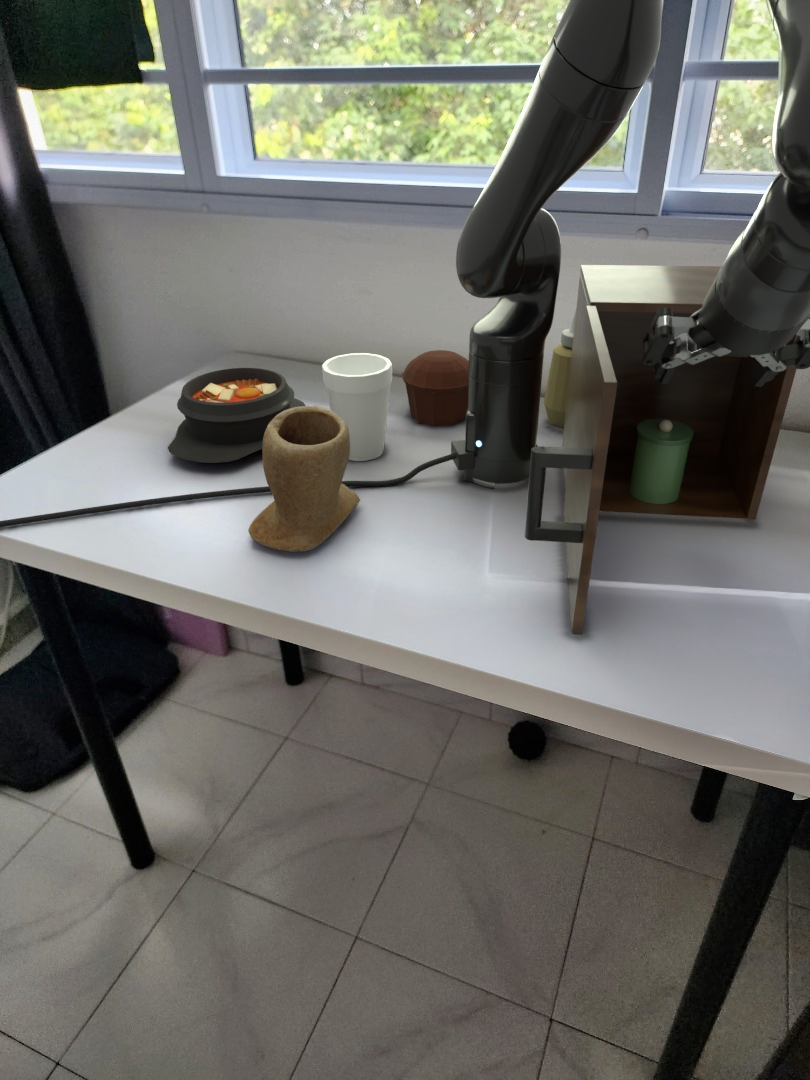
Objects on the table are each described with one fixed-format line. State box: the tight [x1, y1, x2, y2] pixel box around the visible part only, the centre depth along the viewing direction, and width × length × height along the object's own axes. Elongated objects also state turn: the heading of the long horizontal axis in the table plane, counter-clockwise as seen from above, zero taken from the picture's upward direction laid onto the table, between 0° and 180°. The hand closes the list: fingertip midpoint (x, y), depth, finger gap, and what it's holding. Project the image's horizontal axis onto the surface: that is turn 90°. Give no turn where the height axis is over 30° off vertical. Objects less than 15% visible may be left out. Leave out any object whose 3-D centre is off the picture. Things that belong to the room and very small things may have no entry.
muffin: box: [402, 349, 469, 427], centre depth 116 cm, size 12×11×10 cm
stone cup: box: [247, 405, 361, 553], centre depth 87 cm, size 15×12×15 cm
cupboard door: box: [524, 306, 617, 635], centre depth 76 cm, size 6×22×26 cm, turn 172°
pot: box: [628, 419, 694, 504], centre depth 92 cm, size 7×7×10 cm
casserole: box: [167, 367, 307, 464], centre depth 111 cm, size 25×19×8 cm
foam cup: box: [321, 352, 393, 462], centre depth 105 cm, size 10×9×13 cm
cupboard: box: [561, 264, 810, 520], centre depth 91 cm, size 17×22×26 cm
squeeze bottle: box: [543, 310, 576, 428], centre depth 110 cm, size 8×8×18 cm
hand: (709, 376), depth 72 cm, fingers open, 8 cm apart
